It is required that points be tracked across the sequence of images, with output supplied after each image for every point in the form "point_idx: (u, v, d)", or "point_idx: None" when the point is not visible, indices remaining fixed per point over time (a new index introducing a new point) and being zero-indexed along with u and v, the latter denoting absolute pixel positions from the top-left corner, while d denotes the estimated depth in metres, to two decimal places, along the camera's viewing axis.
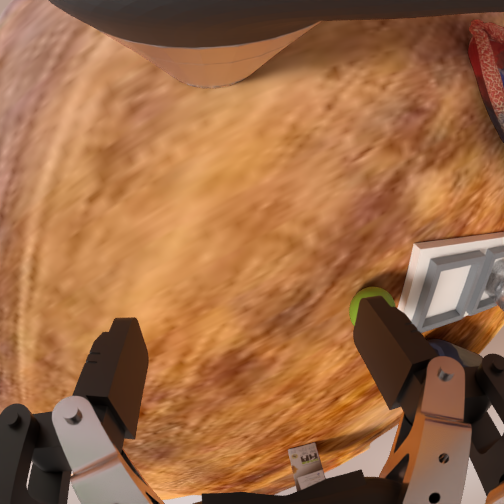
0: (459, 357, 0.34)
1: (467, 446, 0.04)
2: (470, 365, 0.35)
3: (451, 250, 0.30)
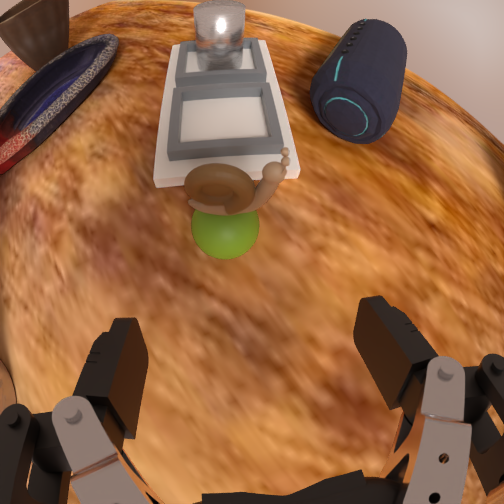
0: (321, 66, 0.26)
1: (466, 447, 0.04)
2: (337, 47, 0.27)
3: (164, 135, 0.28)
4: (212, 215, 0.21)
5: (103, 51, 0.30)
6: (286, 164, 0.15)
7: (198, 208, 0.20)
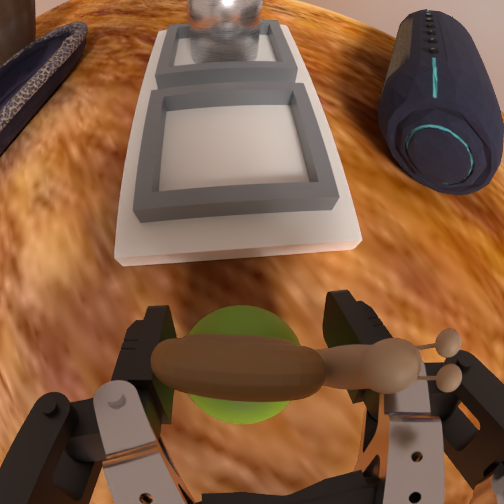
0: (397, 68, 0.15)
1: (439, 440, 0.04)
2: (409, 41, 0.16)
3: (134, 172, 0.17)
4: None
5: (63, 43, 0.19)
6: (450, 390, 0.04)
7: None
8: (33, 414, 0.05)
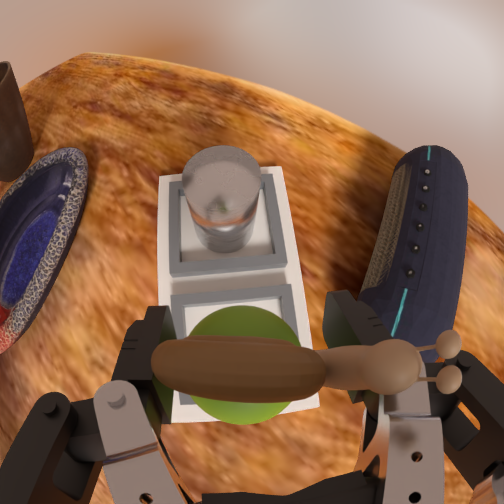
0: (375, 286, 0.23)
1: (439, 440, 0.04)
2: (396, 236, 0.24)
3: None
4: None
5: (69, 196, 0.27)
6: (451, 392, 0.04)
7: None
8: (33, 415, 0.05)
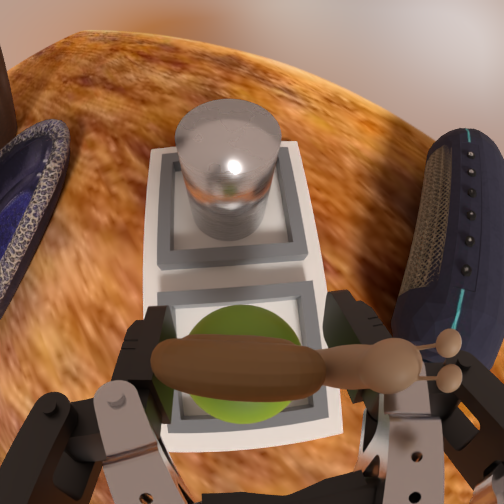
0: (424, 286, 0.17)
1: (439, 440, 0.04)
2: (444, 225, 0.18)
3: None
4: None
5: (45, 171, 0.21)
6: (451, 391, 0.04)
7: None
8: (33, 414, 0.05)
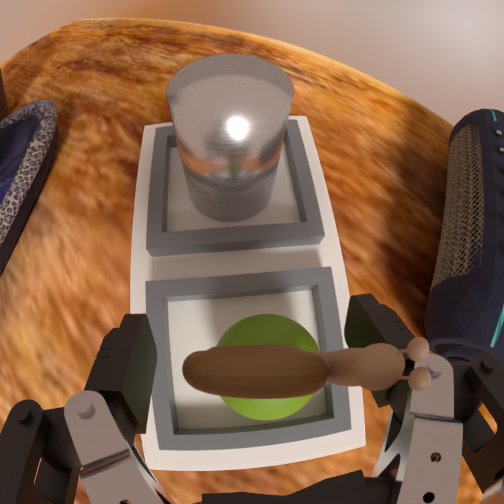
0: (464, 274, 0.14)
1: (458, 444, 0.04)
2: (481, 206, 0.15)
3: None
4: None
5: (28, 151, 0.18)
6: (421, 390, 0.05)
7: None
8: (9, 423, 0.04)
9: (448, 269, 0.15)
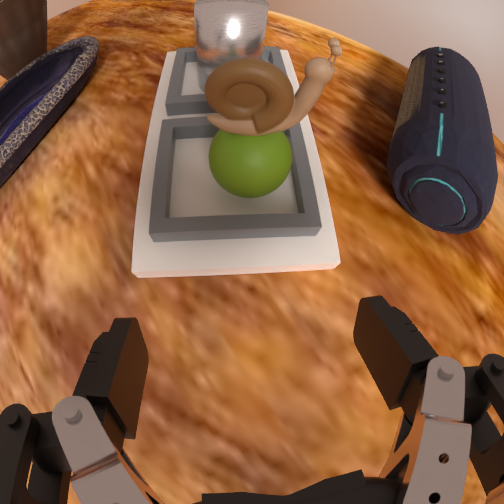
0: (408, 119, 0.18)
1: (467, 446, 0.04)
2: (420, 88, 0.19)
3: (148, 196, 0.20)
4: (237, 136, 0.16)
5: (77, 60, 0.22)
6: (338, 52, 0.10)
7: (220, 125, 0.15)
8: None
9: (398, 125, 0.20)
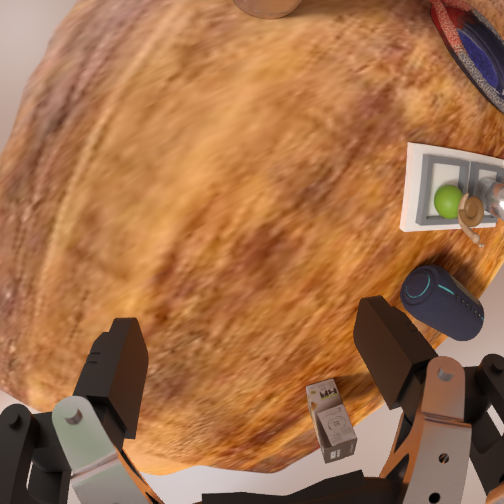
0: (452, 278, 0.41)
1: (466, 446, 0.04)
2: (464, 292, 0.42)
3: (439, 151, 0.37)
4: (458, 201, 0.35)
5: None
6: (479, 245, 0.31)
7: (464, 197, 0.34)
8: None
9: (449, 274, 0.42)
